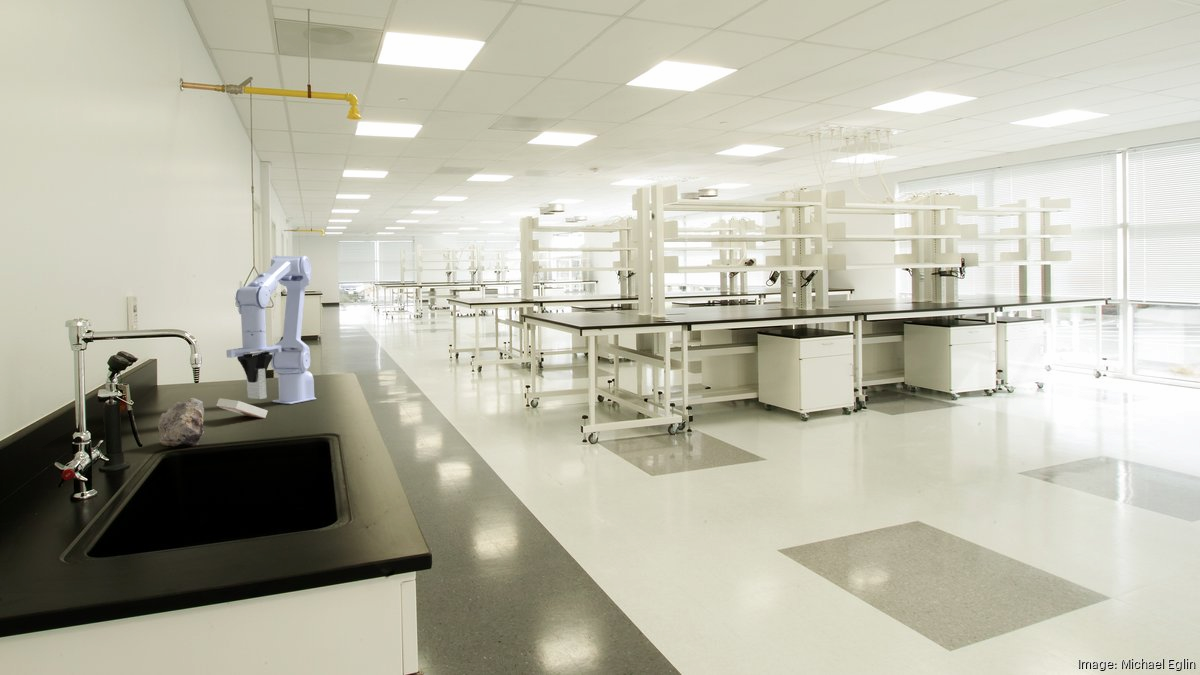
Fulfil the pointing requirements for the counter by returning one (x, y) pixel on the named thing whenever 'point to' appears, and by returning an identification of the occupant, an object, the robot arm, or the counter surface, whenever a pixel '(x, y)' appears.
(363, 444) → the counter surface
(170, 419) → the rock
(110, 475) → the counter surface
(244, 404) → the tile
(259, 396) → the pale grey upright block
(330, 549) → the counter surface
